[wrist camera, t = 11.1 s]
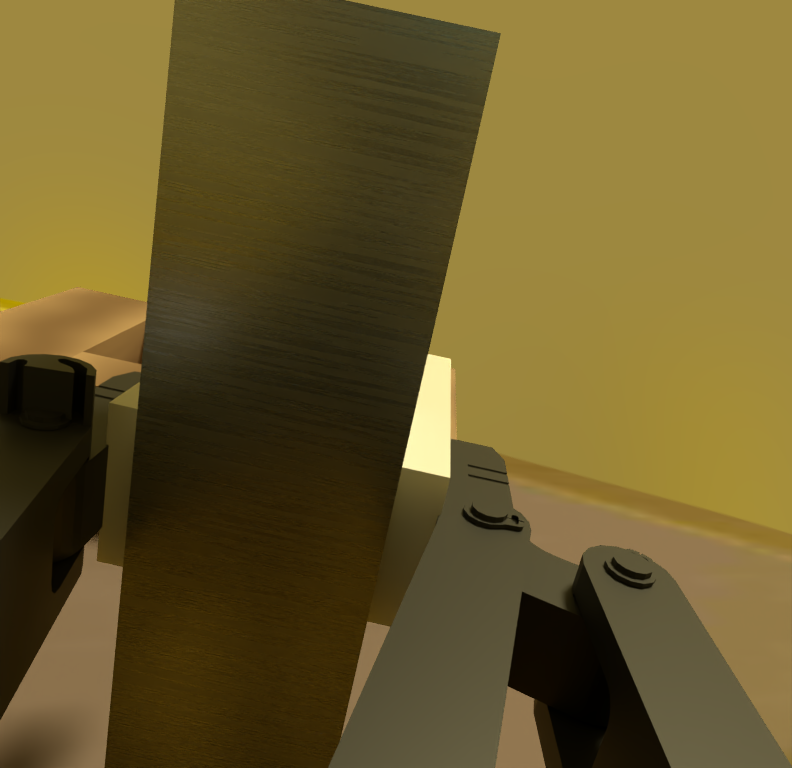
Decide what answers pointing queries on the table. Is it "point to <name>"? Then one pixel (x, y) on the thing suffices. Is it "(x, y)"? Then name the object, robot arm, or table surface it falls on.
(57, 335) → the holder block
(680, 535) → the table surface
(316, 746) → the square bit
